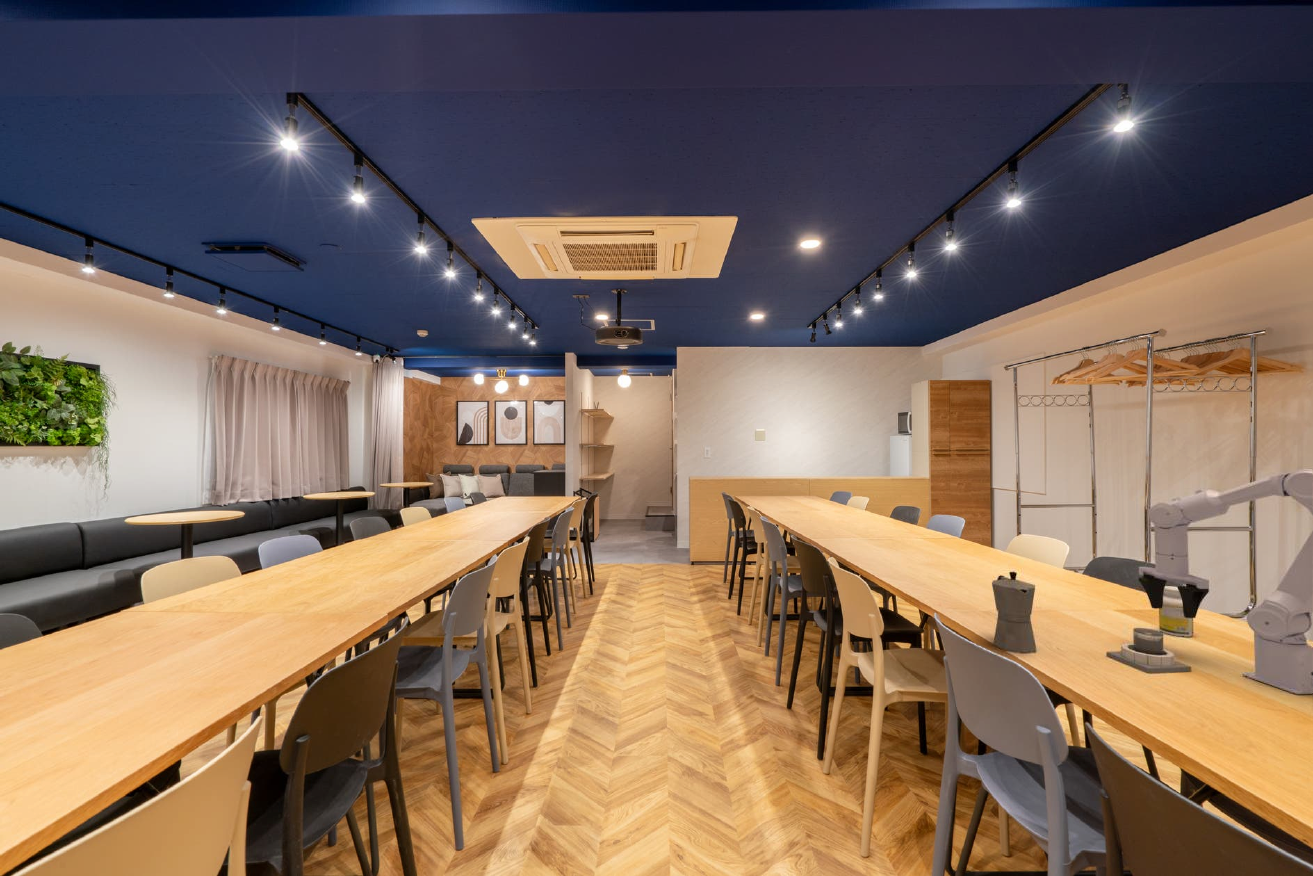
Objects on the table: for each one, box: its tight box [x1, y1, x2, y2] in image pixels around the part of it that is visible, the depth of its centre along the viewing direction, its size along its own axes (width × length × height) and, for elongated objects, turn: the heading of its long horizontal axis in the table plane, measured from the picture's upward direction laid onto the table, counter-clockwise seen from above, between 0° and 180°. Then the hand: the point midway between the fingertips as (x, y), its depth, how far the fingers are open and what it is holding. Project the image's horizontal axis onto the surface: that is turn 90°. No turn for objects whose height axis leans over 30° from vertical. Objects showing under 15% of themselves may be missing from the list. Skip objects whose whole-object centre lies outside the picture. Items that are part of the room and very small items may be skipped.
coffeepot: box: [991, 571, 1037, 654], centre depth 136 cm, size 15×9×18 cm, turn 168°
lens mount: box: [1105, 642, 1192, 674], centre depth 124 cm, size 10×10×3 cm
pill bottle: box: [1158, 585, 1194, 638], centre depth 144 cm, size 6×6×12 cm
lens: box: [1132, 627, 1164, 655], centre depth 124 cm, size 5×5×6 cm
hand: (1172, 612), depth 130 cm, fingers open, 7 cm apart
